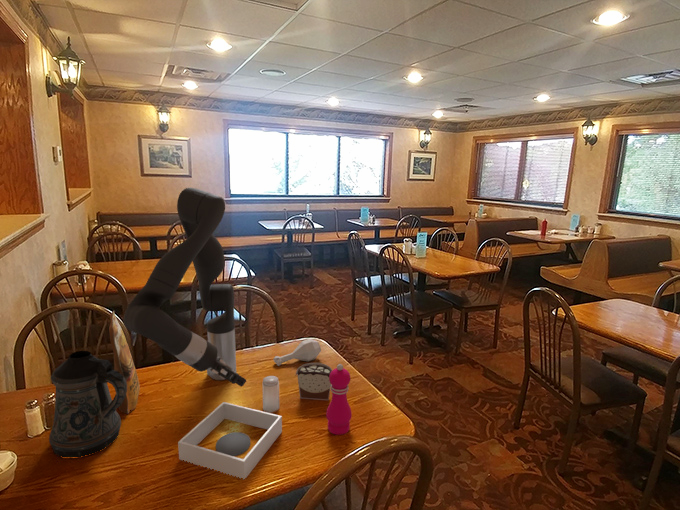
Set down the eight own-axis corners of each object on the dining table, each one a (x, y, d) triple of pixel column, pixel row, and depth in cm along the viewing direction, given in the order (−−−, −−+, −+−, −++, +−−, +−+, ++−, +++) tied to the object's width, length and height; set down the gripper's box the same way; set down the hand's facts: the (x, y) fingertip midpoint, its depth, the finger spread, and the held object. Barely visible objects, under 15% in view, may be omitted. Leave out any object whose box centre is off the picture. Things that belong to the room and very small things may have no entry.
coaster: (208, 451, 107) (208, 449, 107) (228, 431, 115) (228, 429, 115) (238, 460, 104) (238, 458, 104) (256, 438, 113) (256, 436, 112)
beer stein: (58, 428, 115) (46, 345, 110) (135, 413, 123) (127, 335, 117) (43, 467, 100) (28, 374, 95) (131, 447, 108) (122, 360, 103)
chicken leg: (272, 360, 159) (270, 347, 154) (315, 345, 165) (314, 331, 160) (279, 377, 153) (277, 364, 148) (323, 361, 159) (322, 347, 154)
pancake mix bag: (110, 419, 119) (100, 330, 113) (119, 386, 137) (111, 307, 131) (136, 415, 122) (127, 327, 116) (142, 383, 139) (134, 305, 133)
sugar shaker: (259, 410, 126) (259, 382, 124) (268, 401, 130) (267, 374, 128) (274, 413, 124) (274, 385, 122) (282, 404, 129) (281, 377, 126)
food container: (335, 390, 137) (336, 363, 135) (333, 400, 131) (333, 372, 129) (299, 387, 138) (299, 360, 136) (295, 398, 132) (295, 369, 130)
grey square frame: (179, 459, 104) (178, 442, 103) (224, 416, 122) (223, 401, 121) (244, 479, 98) (244, 461, 97) (281, 431, 116) (281, 416, 115)
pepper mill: (354, 423, 120) (356, 360, 116) (346, 438, 113) (348, 372, 109) (331, 418, 122) (332, 356, 118) (322, 432, 116) (323, 367, 111)
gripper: (215, 348, 103) (257, 375, 113) (194, 330, 114) (233, 356, 123) (196, 374, 101) (240, 399, 111) (175, 353, 111) (217, 378, 121)
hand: (236, 377), depth 117 cm, fingers open, 8 cm apart
